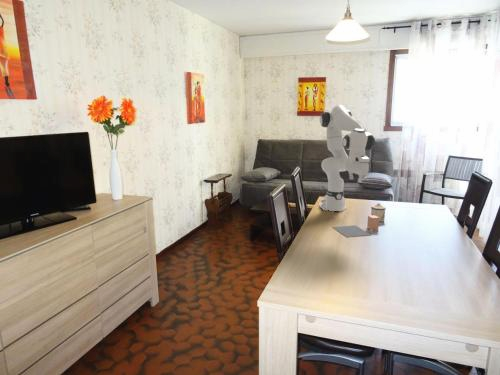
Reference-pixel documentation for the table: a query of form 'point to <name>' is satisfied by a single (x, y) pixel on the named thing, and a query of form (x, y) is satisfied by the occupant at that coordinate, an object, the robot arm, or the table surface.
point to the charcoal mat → (351, 231)
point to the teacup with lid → (378, 211)
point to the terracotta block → (373, 222)
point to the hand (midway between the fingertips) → (355, 180)
